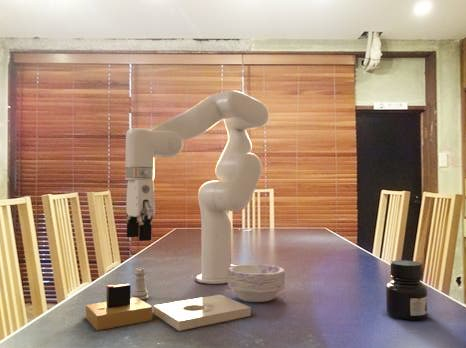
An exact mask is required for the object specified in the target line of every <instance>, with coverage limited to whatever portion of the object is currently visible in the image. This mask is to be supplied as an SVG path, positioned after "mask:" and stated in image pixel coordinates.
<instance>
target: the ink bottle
mask: <svg viewBox="0 0 466 348" xmlns="http://www.w3.org/2000/svg"><path fill="white" fill-rule="evenodd" d="M422 277H423V264H422V263H421V262H419V261H414V260H403V259H402V260H401V259H399V260H398V259H397V260H391V261H390V278H391V280H390V282H388V283H387V284H386V286H385V289H386V290H385V294H386V295H385V296H386V299H385V301H386V303H385V304H386V305H385V306H386V314H387V315H389V316H390V317H393V318H396V319H401V320H408V321H420V320H424V319H426V318H427V317H428V288H427V287H426V286H425V284H423V282H422V279H423V278H422Z"/></svg>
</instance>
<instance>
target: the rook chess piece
mask: <svg viewBox="0 0 466 348" xmlns="http://www.w3.org/2000/svg"><path fill="white" fill-rule="evenodd" d="M146 273H147V271H146V269H145V267H137V268H135V269H134V272H133V274H134V288H133V291H132V292H131V296H130V298H135V297H137V298H139V299H140V300H142V301H146V300H148V298H149V291H148V289H147V287H146V281H145V279H146V277H145V275H146Z"/></svg>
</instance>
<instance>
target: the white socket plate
mask: <svg viewBox="0 0 466 348" xmlns="http://www.w3.org/2000/svg"><path fill="white" fill-rule="evenodd" d="M153 315H154V316H156V317H157V318H159V319H161V321H163V322H165V323H166V324H168V326H171V327H172V328H174V329H175V330H177V331H178V332H180V331H185V330H190V329H194V328H200V327H204V326H209V325H215V324H219V323H223V322H228V321H234V320H239V319H242V318H246V317H251V306H248V305H247V304H244V303H241V302H239V301H236V300H234V299H232V298H230V297H227V296H224V295H222V294H215V295H209V296H203V297H197V298H192V299H186V300H185V299H184V300H179V301H173V302H168V303H162V304H155V305H153Z"/></svg>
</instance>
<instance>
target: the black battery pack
mask: <svg viewBox="0 0 466 348" xmlns="http://www.w3.org/2000/svg"><path fill="white" fill-rule="evenodd" d="M130 298H131V284H130V283H124V284H123V283H122V284H116V285H113V284H108V285H107V286H106V302H107V307H108V308H113V307H119V306H125V305H130Z"/></svg>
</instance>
